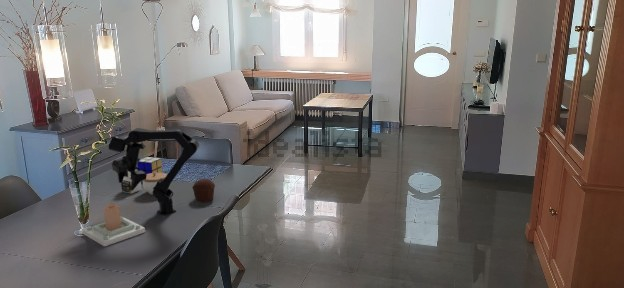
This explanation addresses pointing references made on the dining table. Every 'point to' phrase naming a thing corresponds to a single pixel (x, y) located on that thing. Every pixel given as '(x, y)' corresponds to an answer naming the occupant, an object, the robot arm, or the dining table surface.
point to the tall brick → (112, 217)
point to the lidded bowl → (152, 181)
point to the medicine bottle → (129, 184)
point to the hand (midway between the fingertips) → (125, 186)
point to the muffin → (204, 190)
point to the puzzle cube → (150, 165)
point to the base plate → (113, 232)
